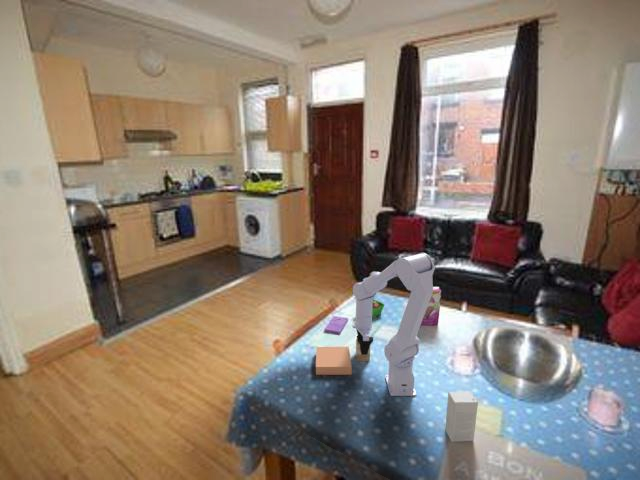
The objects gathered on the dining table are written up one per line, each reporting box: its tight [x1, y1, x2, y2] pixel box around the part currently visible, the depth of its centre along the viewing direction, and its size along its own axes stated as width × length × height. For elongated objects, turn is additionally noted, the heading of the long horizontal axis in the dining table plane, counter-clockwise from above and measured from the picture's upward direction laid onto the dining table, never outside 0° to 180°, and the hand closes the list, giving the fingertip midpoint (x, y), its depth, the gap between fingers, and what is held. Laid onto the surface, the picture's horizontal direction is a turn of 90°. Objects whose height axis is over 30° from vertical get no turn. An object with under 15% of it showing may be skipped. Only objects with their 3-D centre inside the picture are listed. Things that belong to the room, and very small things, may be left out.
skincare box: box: [444, 390, 479, 443], centre depth 86 cm, size 6×4×12 cm
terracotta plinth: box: [315, 346, 353, 376], centre depth 117 cm, size 12×12×3 cm
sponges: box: [324, 315, 349, 335], centre depth 144 cm, size 7×13×2 cm, turn 160°
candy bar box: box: [420, 286, 442, 327], centre depth 144 cm, size 11×5×16 cm, turn 84°
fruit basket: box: [372, 299, 385, 319], centre depth 152 cm, size 11×9×11 cm
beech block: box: [355, 338, 371, 362], centre depth 121 cm, size 4×4×6 cm
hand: (362, 347), depth 121 cm, fingers open, 7 cm apart
